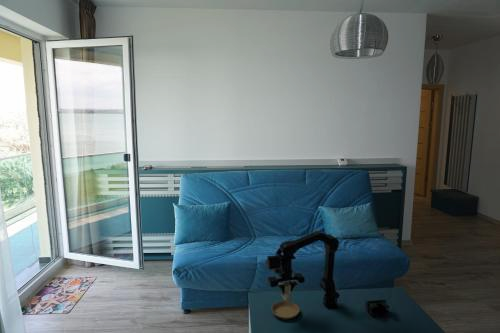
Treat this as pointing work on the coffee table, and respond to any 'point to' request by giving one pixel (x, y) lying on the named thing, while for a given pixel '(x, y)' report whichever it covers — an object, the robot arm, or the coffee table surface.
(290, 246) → the robot arm
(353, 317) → the coffee table surface
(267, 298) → the coffee table surface
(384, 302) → the end cap
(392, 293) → the coffee table surface
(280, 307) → the plant saucer
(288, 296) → the taupe streaky block
